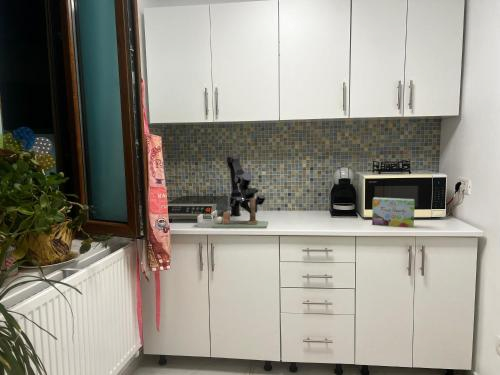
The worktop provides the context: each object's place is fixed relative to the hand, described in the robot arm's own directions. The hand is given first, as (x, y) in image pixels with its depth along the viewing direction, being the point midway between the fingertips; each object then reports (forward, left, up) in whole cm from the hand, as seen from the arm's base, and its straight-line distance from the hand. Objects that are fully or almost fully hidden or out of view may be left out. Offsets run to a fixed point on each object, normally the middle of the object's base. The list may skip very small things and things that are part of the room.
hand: (253, 212), depth 205 cm
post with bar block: (-1, -8, -6) cm, 10 cm away
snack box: (-3, +77, -8) cm, 77 cm away
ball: (-1, -20, -5) cm, 20 cm away
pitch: (-1, -12, -8) cm, 15 cm away
